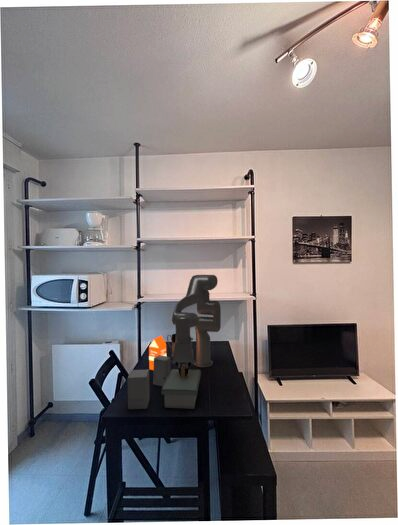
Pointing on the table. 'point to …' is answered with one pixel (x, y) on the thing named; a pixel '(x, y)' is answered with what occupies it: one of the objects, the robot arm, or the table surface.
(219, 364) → the table surface
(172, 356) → the brown pitcher
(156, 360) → the skincare box
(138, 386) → the supplement box
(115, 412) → the table surface
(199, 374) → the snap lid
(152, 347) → the orange juice
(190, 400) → the parts tub
